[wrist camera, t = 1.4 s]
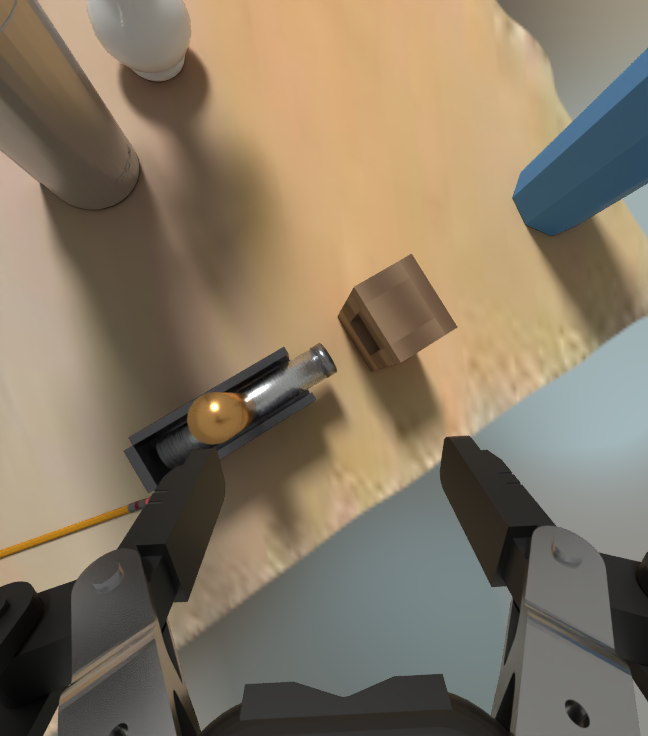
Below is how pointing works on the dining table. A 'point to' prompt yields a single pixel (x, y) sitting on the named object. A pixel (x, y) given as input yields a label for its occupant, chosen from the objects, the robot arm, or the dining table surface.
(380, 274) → the socket block
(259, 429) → the sleeve
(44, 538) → the pencil
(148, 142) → the dining table surface
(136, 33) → the flower vase
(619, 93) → the water bottle
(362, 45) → the dining table surface
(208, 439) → the tube
